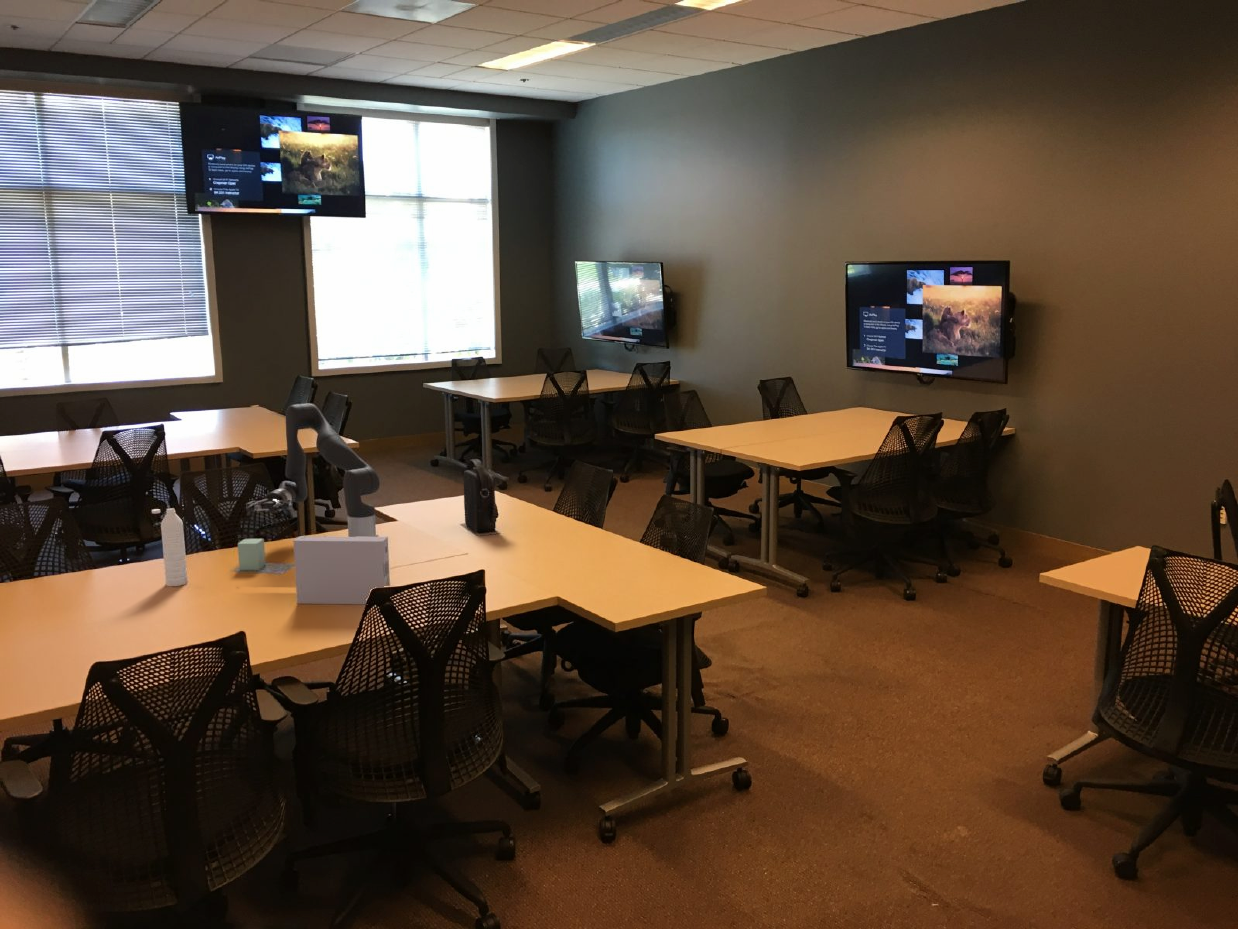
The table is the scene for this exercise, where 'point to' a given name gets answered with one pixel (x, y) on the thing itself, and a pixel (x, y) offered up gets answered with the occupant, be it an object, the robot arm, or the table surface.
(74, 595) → the table surface
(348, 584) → the game console
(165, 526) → the water bottle
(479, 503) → the shoulder bag
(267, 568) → the post stand
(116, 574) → the table surface
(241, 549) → the pale green block
